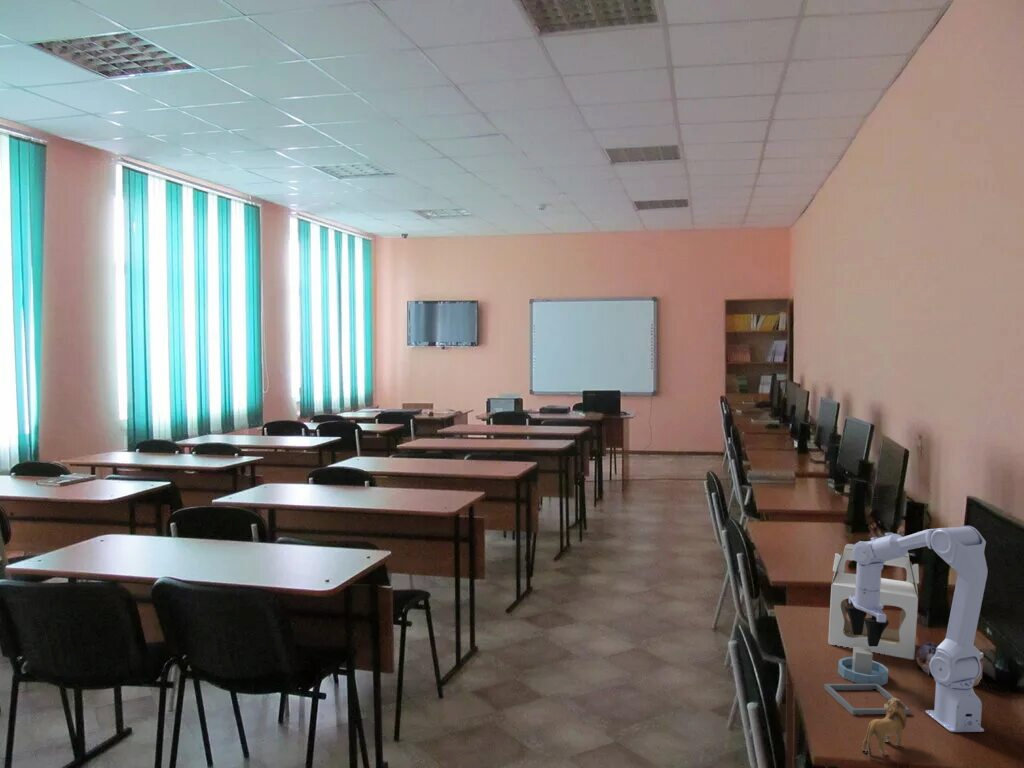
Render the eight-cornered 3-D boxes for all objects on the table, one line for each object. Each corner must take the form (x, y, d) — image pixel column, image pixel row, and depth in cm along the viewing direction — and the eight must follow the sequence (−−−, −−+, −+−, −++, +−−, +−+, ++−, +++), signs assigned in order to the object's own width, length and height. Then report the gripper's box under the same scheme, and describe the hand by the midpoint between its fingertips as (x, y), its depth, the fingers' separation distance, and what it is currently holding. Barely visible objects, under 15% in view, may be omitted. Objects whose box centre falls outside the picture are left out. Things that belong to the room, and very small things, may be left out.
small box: (973, 687, 198) (975, 656, 197) (955, 681, 201) (957, 650, 201) (982, 682, 201) (984, 652, 200) (964, 676, 204) (966, 646, 204)
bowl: (897, 685, 197) (897, 675, 197) (852, 685, 196) (853, 676, 196) (872, 666, 209) (872, 657, 209) (829, 666, 208) (830, 657, 208)
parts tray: (909, 714, 182) (909, 709, 182) (852, 715, 181) (852, 709, 181) (877, 688, 196) (877, 683, 195) (824, 688, 194) (824, 683, 194)
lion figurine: (884, 732, 173) (887, 691, 173) (910, 741, 170) (912, 700, 169) (856, 754, 163) (859, 712, 163) (883, 765, 159) (885, 721, 159)
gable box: (827, 644, 224) (832, 546, 222) (830, 629, 236) (835, 536, 234) (915, 660, 214) (921, 558, 212) (914, 644, 226) (920, 547, 224)
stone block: (871, 677, 200) (872, 654, 200) (854, 675, 201) (855, 652, 201) (868, 671, 204) (869, 648, 204) (851, 669, 205) (853, 646, 205)
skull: (947, 682, 201) (949, 658, 200) (913, 675, 204) (915, 652, 204) (947, 666, 211) (949, 643, 211) (915, 659, 215) (916, 637, 214)
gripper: (899, 597, 194) (896, 651, 195) (867, 579, 209) (864, 629, 210) (871, 597, 194) (868, 651, 195) (842, 579, 208) (839, 629, 209)
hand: (864, 640), depth 202 cm, fingers open, 7 cm apart
